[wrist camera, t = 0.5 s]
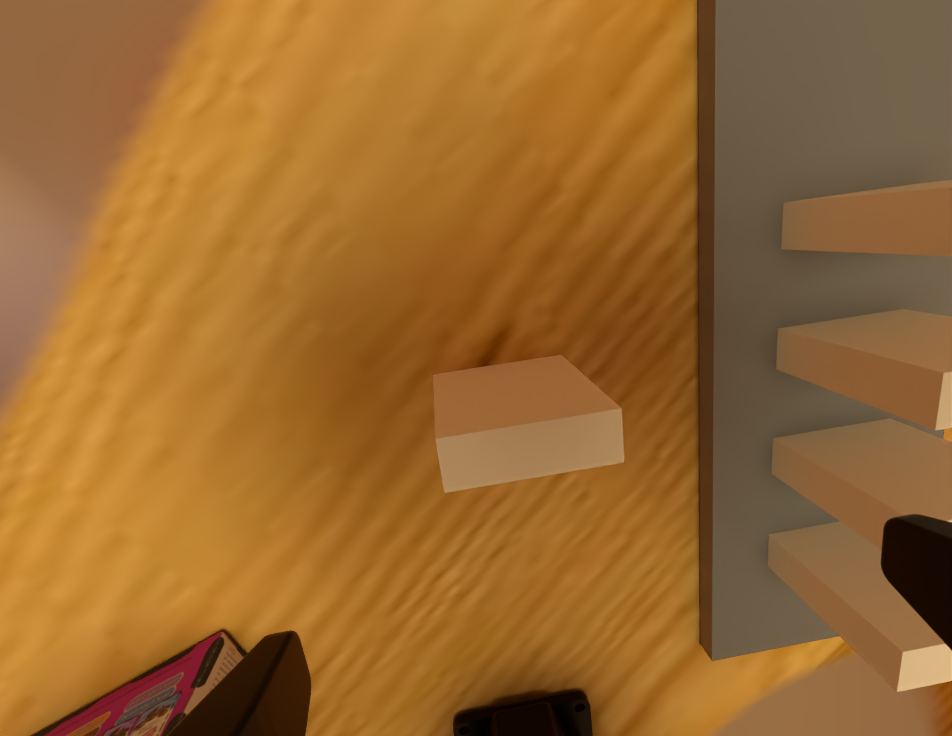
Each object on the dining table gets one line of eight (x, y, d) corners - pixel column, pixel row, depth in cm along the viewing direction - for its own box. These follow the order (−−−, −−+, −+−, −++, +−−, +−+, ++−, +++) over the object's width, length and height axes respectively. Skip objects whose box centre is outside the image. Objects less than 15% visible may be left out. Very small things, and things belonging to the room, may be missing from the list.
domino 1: (564, 393, 19) (624, 462, 13) (439, 413, 19) (444, 492, 13) (561, 354, 18) (621, 408, 13) (432, 374, 18) (435, 438, 12)
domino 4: (885, 453, 20) (1072, 542, 14) (771, 473, 20) (914, 573, 14) (890, 418, 19) (1084, 495, 14) (773, 438, 19) (921, 525, 13)
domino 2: (912, 230, 17) (1152, 227, 12) (781, 249, 17) (960, 256, 11) (917, 183, 17) (1169, 156, 11) (783, 202, 17) (970, 185, 11)
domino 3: (898, 349, 19) (1108, 400, 13) (776, 369, 18) (934, 430, 13) (902, 308, 18) (1122, 343, 12) (777, 328, 18) (943, 373, 12)
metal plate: (895, 605, 24) (915, 620, 23) (700, 643, 23) (711, 660, 22) (1005, -204, 15) (1045, -234, 14) (697, -176, 14) (716, -205, 13)
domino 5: (875, 545, 21) (1043, 662, 15) (767, 565, 21) (897, 692, 15) (879, 514, 21) (1052, 622, 15) (768, 534, 20) (903, 652, 15)
